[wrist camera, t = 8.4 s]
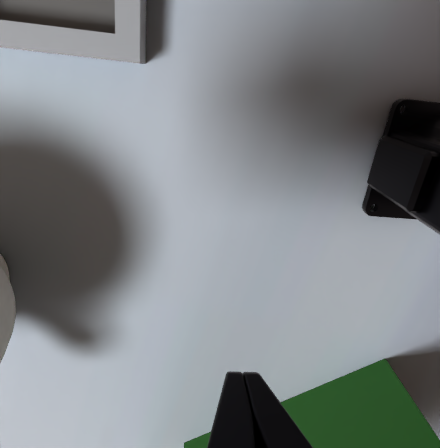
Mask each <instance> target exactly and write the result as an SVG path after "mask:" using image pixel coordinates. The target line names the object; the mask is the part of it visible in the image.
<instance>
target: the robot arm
mask: <svg viewBox="0 0 440 448" xmlns="http://www.w3.org/2000/svg"><path fill="white" fill-rule="evenodd" d="M403 105H404V106H405V110H404V112H402V113H400V108H401V106H403ZM367 182H368V184H369V185H368V188H367V192H366V195H365V198H364V202H363V205H362V209H363V211H364V212H365V213H366V214H368V215H369V216H378V217H392V218H406V219H418V220H419V221H421V222H422V223H424V224H425V225H427V226H428V227H429V228H431V229H432V230H434V231H435V232H437V233H438V234H440V103H437V102H428V101H419V100H410V99H399V100H397V101H396V102H395V103H394V104H393V105H392V108H391V111H390V114H389V117H388V121H387V124H386V128H385V131H384V134H383V137H382V138H381V139H380V140H379V144H378V147H377V150H376V154H375V157H374V161H373V164H372V168H371V171H370V174H369V178H368V181H367ZM373 204H375V206H374V208H373V209H370V206H371V205H373ZM207 448H313V447H312V445H311V444H310V443H309V441H308V440H307V439H306V437H305V436H304V434H303V433H302V432H301V430H300V429H299V428H298V426H297V425H296V424H295V422H294V421H293V419H292V418H291V417H290V415H289V414H288V413H287V411H286V410H285V408H284V407H283V406H282V404H281V403H280V402H279V400H278V399H277V397H276V396H275V395H274V393H273V392H272V391H271V389H270V388H269V386H268V385H267V384H266V382H265V381H264V380H263V378H262V377H261V376H260V374H259V373H257V372H244V373H243V374H242V373H241V372H227V374H226V377H225V381H224V385H223V388H222V392H221V396H220V400H219V404H218V408H217V411H216V415H215V419H214V423H213V427H212V430H211V434H210V438H209V442H208V446H207Z"/></svg>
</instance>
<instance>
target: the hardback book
mask: <svg viewBox="0 0 440 448" xmlns="http://www.w3.org/2000/svg"><path fill="white" fill-rule="evenodd" d="M280 403H281V404H282V406H283V407H284V408H285V410H286V411H287V413H288V414H289V415H290V417H291V418H292V419H293V421H294V422H295V424H296V425H297V426H298V428H299V429H300V430H301V432H302V433H303V434H304V436H305V437H306V439H307V440H308V441H309V443H310V444H311V445H312V447H313V448H440V440H439V439H438V437H437V436H436V434H435V433H434V431H433V430H432V428H431V427H430V425H429V424H428V422H427V421H426V419H425V418H424V416H423V415H422V413H421V412H420V410H419V409H418V407H417V405H416V404H415V402H414V401H413V399H412V398H411V396H410V395H409V393H408V392H407V390H406V389H405V387H404V386H403V384H402V383H401V381H400V380H399V378H398V377H397V375H396V374H395V372H394V371H393V369H392V368H391V366H390V365H389V363H388V362H387V360H386V359H383V360H380V361H378V362H376V363H373V364H371V365H368V366H366V367H364V368H361V369H359V370H357V371H354V372H352V373H349V374H347V375H345V376H342V377H340V378H338V379H335V380H333V381H330V382H328V383H326V384H323V385H321V386H319V387H316V388H314V389H311V390H309V391H307V392H304V393H302V394H300V395H297V396H295V397H292V398H290V399H288V400H285V401H283V402H280ZM210 434H211V432H209V433H207V434H204V435H202V436H200V437H197V438H195V439H192V440H190V441H188V442H185V443H184V448H207V446H208V442H209V438H210Z"/></svg>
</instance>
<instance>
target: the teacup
mask: <svg viewBox="0 0 440 448" xmlns="http://www.w3.org/2000/svg"><path fill="white" fill-rule="evenodd" d="M15 317H16V303H15V296H14V292H13V289H12V286H11V283H10V277H9V270H8V267H7V264H6V262H5V260H4V258H3V257H2V255H1V254H0V362H1V360H2V358H3V356H4V354H5V351H6V348H7V346H8V343H9V340H10V338H11V335H12V332H13V328H14V323H15Z"/></svg>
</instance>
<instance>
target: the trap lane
mask: <svg viewBox="0 0 440 448" xmlns="http://www.w3.org/2000/svg"><path fill="white" fill-rule="evenodd" d="M0 47H1V48H10V49H19V50H27V51H36V52H45V53H53V54H62V55H71V56H79V57H88V58H97V59H106V60H114V61H123V62H132V63H141V64H145V59H146V0H0Z"/></svg>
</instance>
